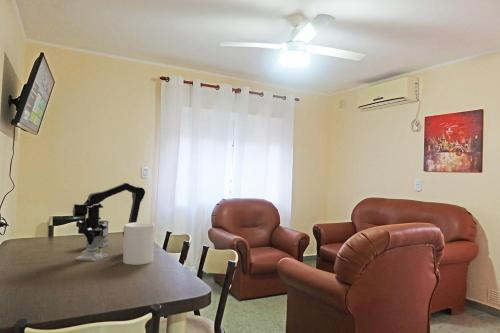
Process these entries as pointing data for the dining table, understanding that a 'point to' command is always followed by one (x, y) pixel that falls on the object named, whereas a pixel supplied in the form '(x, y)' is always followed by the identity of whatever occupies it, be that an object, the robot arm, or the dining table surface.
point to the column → (93, 244)
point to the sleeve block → (91, 255)
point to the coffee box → (103, 235)
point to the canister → (138, 243)
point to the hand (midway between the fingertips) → (92, 243)
